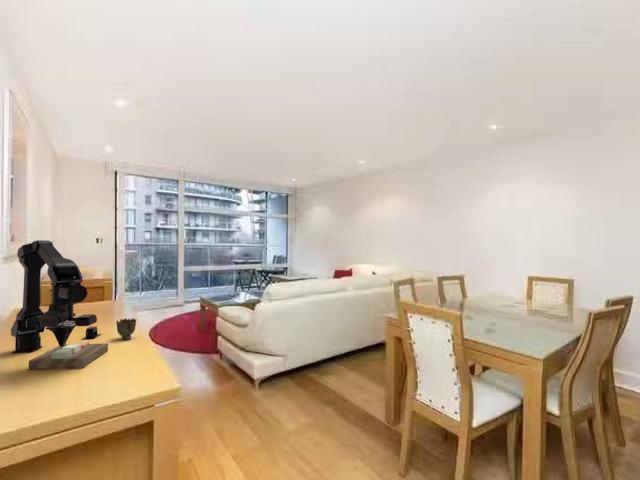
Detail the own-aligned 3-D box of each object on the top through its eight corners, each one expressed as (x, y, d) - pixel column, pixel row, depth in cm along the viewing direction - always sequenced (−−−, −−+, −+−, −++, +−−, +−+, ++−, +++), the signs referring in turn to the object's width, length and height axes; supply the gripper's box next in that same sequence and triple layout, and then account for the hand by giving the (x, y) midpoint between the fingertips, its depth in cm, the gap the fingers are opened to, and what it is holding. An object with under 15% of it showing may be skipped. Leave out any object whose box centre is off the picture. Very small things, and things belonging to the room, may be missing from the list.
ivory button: (61, 357, 115) (61, 348, 115) (68, 353, 119) (68, 344, 119) (74, 357, 116) (74, 347, 116) (80, 353, 120) (81, 344, 120)
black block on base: (89, 334, 151) (89, 324, 151) (107, 333, 153) (107, 323, 153) (75, 342, 139) (75, 331, 139) (94, 341, 140) (95, 330, 140)
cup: (126, 341, 139) (127, 322, 139) (111, 340, 140) (112, 321, 140) (140, 336, 146) (140, 318, 146) (125, 335, 148) (125, 317, 148)
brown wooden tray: (28, 370, 108) (28, 360, 108) (61, 352, 124) (61, 344, 125) (83, 368, 110) (83, 358, 110) (107, 351, 127) (107, 343, 127)
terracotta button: (71, 354, 120) (71, 345, 120) (77, 351, 124) (77, 342, 124) (83, 354, 121) (83, 345, 121) (89, 350, 125) (89, 342, 125)
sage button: (51, 363, 110) (51, 353, 110) (58, 359, 114) (59, 349, 114) (64, 362, 110) (64, 353, 110) (71, 358, 114) (72, 349, 114)
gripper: (13, 304, 103) (12, 355, 103) (80, 303, 105) (79, 353, 105) (38, 298, 114) (37, 344, 114) (98, 297, 117) (97, 342, 116)
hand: (62, 346), depth 112 cm, fingers closed
